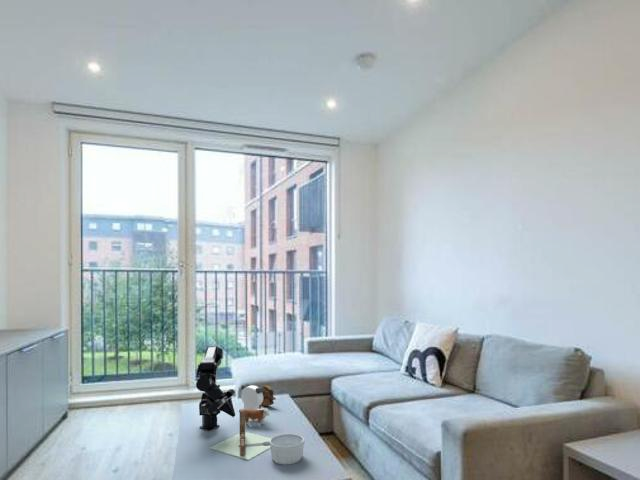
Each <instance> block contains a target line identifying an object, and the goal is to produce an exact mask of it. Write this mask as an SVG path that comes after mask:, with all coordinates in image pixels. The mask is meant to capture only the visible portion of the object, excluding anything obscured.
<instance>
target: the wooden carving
mask: <svg viewBox="0 0 640 480" xmlns="http://www.w3.org/2000/svg"><path fill="white" fill-rule="evenodd" d="M259 387H263V388H264V391H263V392H262V393H263V396H264V399H263V402H262V403H261V404H260V405H261V406H264V407H267V406H272V405H274V404H275V402H274V401H275V400H276V397H274V393H275V392H274V389H273V388H272V387H271V386H269V385H260V386H259Z"/></svg>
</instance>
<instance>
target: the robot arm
mask: <svg viewBox="0 0 640 480" xmlns="http://www.w3.org/2000/svg"><path fill="white" fill-rule="evenodd" d="M206 346H207V347H206V348H205V351H204V358H203V359H201V360H200V362H199V364H198V365H197V370H196V371H197V372H196V378H198V379H197V381H196V383H195V388H196V389H197V390H198V391H200V392H202V394H201V398H200V401H199V404H198V409H199V410H198V412H199V416H202V420H201V422H202V423H201V426H199V429H202V430H205V431H212V430H214V429H217V428H219V427H220V425H219V424H218V415H219V414H221V412H224V413H225V414H227V415H228V416H229V417H232V418H234V417H235V416H236V412H235V411H236V410H235V409H234V405H233V401H232V400H233V399H232V396H233V395H235V393H236V391H235V390H234V389H233V388H229V389H228V390H227V391H223V390H222V389H221V388H220V387H221V385H220V384H218V385H217V377H218V376H217V375H218V368H219V367H220V366H221V364H222V361H223V359H224V351H223V348H221V347H219V345H216V344H214V345H213V344H212V345H206Z"/></svg>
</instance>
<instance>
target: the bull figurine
mask: <svg viewBox="0 0 640 480" xmlns="http://www.w3.org/2000/svg"><path fill="white" fill-rule="evenodd" d="M269 409H270V408H267V407H265V408H263V407H261V409H257V410H250V409H246V412H245V425H247V426H248V427H251V426H252V425H251V424H250V422H249V421H248V420H249V418H250V419H252V421H251V422H255V421H254V420H255V419H258V420H257V427H259V428H260V427H261V425H262V426H264V425H265V423H264V419H265V418H266V417H268V416H270V412H269ZM260 423H261V424H260Z"/></svg>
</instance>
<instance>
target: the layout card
mask: <svg viewBox="0 0 640 480" xmlns="http://www.w3.org/2000/svg"><path fill="white" fill-rule="evenodd" d="M271 438H272V437H267V436H263V435H259V434H257V433H252V432H249V431H245V455H244V456H240V432H239V433H237V434H234V435H233V436H231V437H229V438H227V439H225V440H223V441H221V442H219V443H216V444H215V445H212V446H210V447H209V449H211V450H214V451H217V452H219V453H224V454H226V455H229V456H233V457H235V458H239V459H242V460H246V461H250V460H252V459H253V458H255V457H257V456H259V455H261V454H263V453H264V452H266V451H267V450H270V449H271V446H270V439H271Z"/></svg>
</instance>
